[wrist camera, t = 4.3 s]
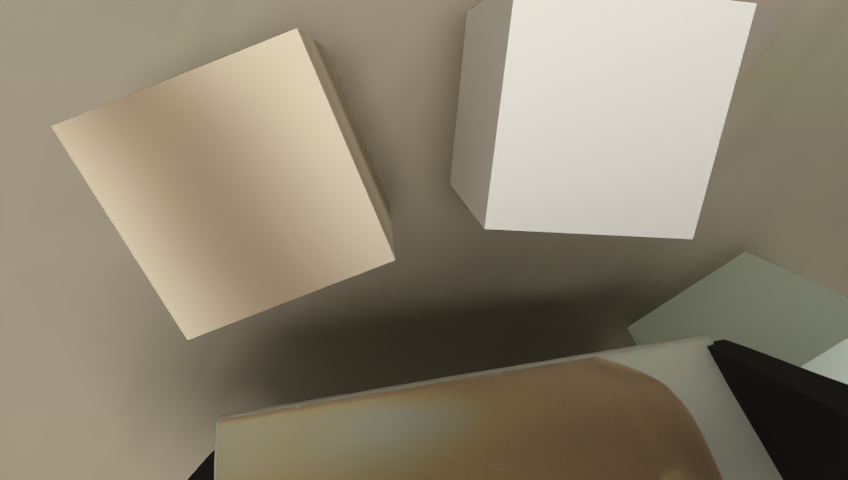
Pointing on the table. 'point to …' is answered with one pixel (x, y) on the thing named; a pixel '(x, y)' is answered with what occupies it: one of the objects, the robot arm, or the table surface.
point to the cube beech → (237, 182)
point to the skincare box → (514, 425)
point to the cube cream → (594, 112)
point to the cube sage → (759, 315)
